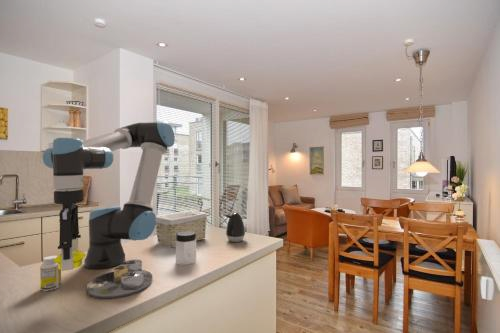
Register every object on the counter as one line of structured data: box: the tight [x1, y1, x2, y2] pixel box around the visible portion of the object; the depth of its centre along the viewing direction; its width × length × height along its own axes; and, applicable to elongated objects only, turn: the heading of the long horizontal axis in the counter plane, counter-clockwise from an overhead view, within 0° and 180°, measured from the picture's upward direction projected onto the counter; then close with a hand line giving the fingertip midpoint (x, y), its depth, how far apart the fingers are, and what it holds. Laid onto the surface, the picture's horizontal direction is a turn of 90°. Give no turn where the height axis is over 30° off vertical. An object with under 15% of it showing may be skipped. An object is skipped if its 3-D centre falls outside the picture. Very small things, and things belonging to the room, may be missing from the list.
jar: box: [175, 231, 197, 266], centre depth 115 cm, size 9×8×12 cm
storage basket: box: [155, 209, 208, 248], centre depth 146 cm, size 24×16×15 cm
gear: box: [54, 250, 87, 271], centre depth 82 cm, size 8×4×8 cm
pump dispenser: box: [225, 212, 246, 243], centre depth 146 cm, size 10×10×15 cm
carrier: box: [86, 259, 153, 300], centre depth 93 cm, size 20×20×6 cm
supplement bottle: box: [39, 255, 62, 292], centre depth 90 cm, size 6×6×10 cm
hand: (70, 264), depth 82 cm, fingers closed on gear, 8 cm apart
